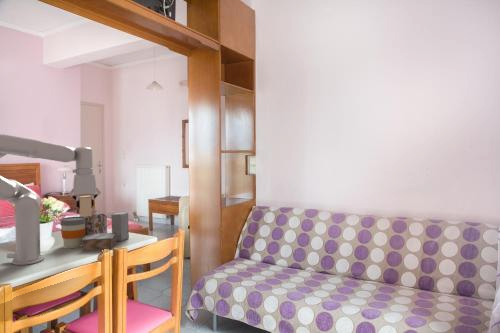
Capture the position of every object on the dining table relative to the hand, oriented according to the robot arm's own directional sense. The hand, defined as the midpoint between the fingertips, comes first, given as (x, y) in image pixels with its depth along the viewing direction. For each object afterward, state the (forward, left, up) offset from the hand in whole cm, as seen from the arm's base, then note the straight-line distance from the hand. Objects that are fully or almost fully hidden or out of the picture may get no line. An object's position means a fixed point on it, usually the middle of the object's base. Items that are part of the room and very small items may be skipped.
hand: (85, 207), depth 167 cm
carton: (0, 0, -4) cm, 4 cm away
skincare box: (+12, +28, -24) cm, 39 cm away
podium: (+4, +13, -24) cm, 27 cm away
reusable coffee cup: (-11, +19, -24) cm, 33 cm away
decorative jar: (-4, +31, -24) cm, 40 cm away
